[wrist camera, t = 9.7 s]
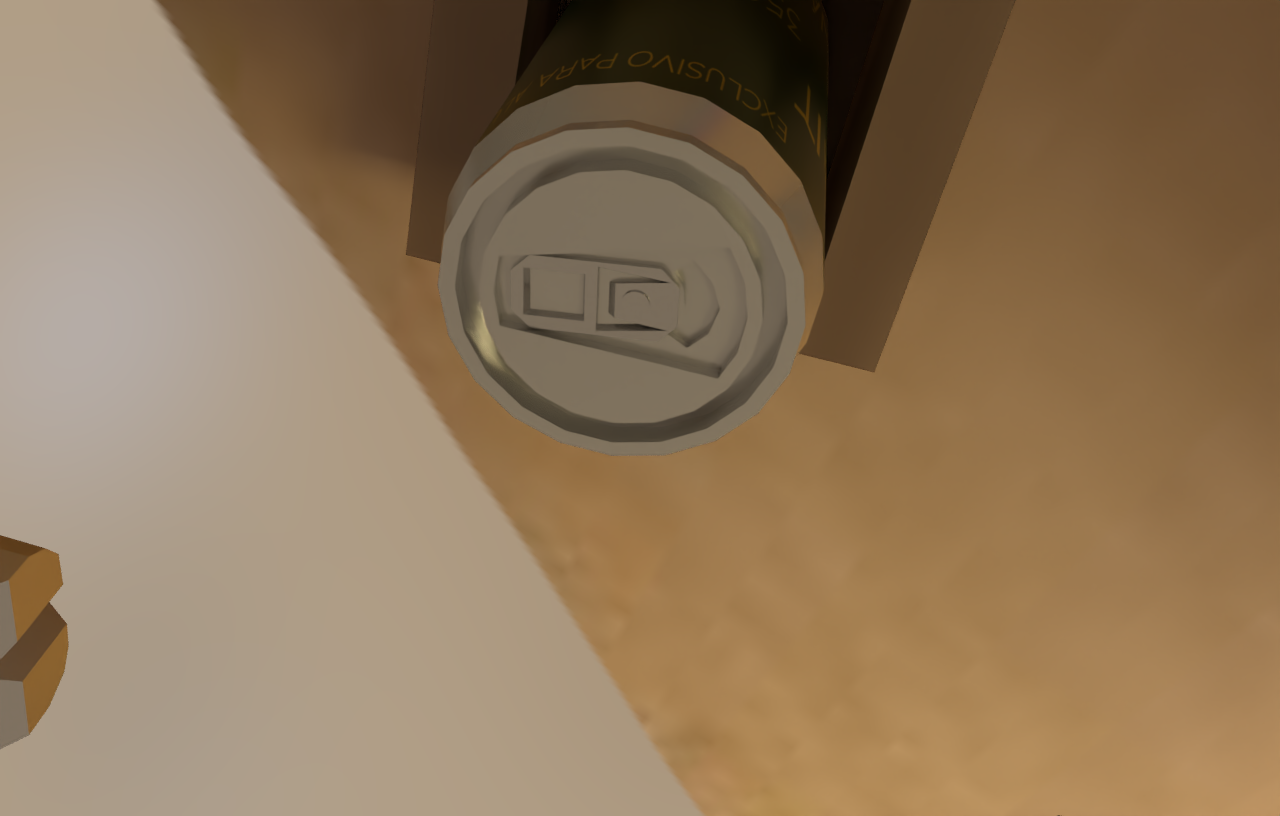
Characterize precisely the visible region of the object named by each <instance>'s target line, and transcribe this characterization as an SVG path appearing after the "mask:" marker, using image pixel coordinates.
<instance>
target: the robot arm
mask: <svg viewBox="0 0 1280 816" xmlns="http://www.w3.org/2000/svg"><path fill="white" fill-rule="evenodd" d="M62 585H63V581H62V574H61V568H60V561H59V555H58V554H57V553H54V552H52V551H50V550H48V549H45V548H42V547H39V546H35V545H31V544H28V543H25V542H21V541H18V540H15V539H11V538H8V537H4V536H1V535H0V749H1V748H3V747H5V746H7V745H9V744H12V743H14V742H16V741H18V740H20V739H22V738H24V737H26V736H28V735H29V734H30V733H31V731H32V730H33V729H34V727H35V726H36V724H37V723H38V722H39V720H40V719H41V717H42V716H43V714H44V713H45V712H46V710H47V709H48V707H49V706H50V704H51V701H52V699H53V697H54V694H55V692H56V690H57V687H58V685H59V683H60V680H61V678H62V676H63V673H64V669H65V664H66V658H67V651H68V634H67V633H68V632H67V623H66V622H65V621H64V620H63V618H61V616H60V615H59V614H58V612H57V611H56V610H55V609H54V607H53V606H52V605H51V604H50V602H49V601H50V600H51V599H52V598H53V596H54V595H55V594H56V593H57V591H58V590H59V589H60V587H61V586H62ZM1058 816H1060V815H1058Z"/></svg>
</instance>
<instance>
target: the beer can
mask: <svg viewBox="0 0 1280 816" xmlns="http://www.w3.org/2000/svg"><path fill="white" fill-rule="evenodd" d="M828 62H829V59H828V19H827V16H826V13H825V10H824V7H823V5H822V2H821V0H572V1H571V2H570V4H569V5H568V7H567V8H566V10H565V11H564V13H563V14H562V16H561V17H560V19H559V20H558V22H557V23H556V25H555V26H554V28H553V29H552V31H551V32H550V34H549V35H548V37H547V38H546V40H545V41H544V43H543V44H542V46H541V47H540V49H539V50H538V52H537V53H536V55H535V56H534V58H533V59H532V61H531V62H530V64H529V65H528V67H527V68H526V70H525V71H524V73H523V74H522V76H521V77H520V79H519V80H518V82H517V84H516V85H515V87H514V88H513V90H512V91H511V93H510V94H509V96H508V97H507V99H506V100H505V102H504V103H503V105H502V106H501V108H500V109H499V111H498V112H497V114H496V115H495V117H494V118H493V120H492V121H491V123H490V124H489V126H488V127H487V129H486V130H485V132H484V133H483V135H482V136H481V138H480V139H479V141H478V142H477V144H476V145H475V147H474V148H473V150H472V152H471V154H470V156H469V158H468V160H467V162H466V164H465V166H464V167H463V169H462V171H461V173H460V175H459V177H458V179H457V181H456V183H455V184H454V186H453V188H452V190H451V192H450V194H449V196H448V201H447V208H446V216H445V224H444V231H443V239H442V247H441V253H442V256H441V264H440V272H439V279H438V289H439V294H440V298H441V303H442V307H443V312H444V317H445V321H446V326H447V331H448V335H449V337H450V339H451V340H452V342H453V344H454V346H455V347H456V349H457V351H458V352H459V354H460V356H461V358H462V359H463V361H464V363H465V365H466V366H467V368H468V370H469V371H470V373H471V375H472V377H473V378H474V380H475V381H476V382H477V383H478V384H479V385H480V386H481V387H482V388H483V389H484V390H485V391H486V392H487V393H488V394H490V395H491V396H492V397H493V398H494V399H495V400H496V401H497V402H498V403H499V404H500V405H501V406H502V407H503V408H504V409H505V410H506V411H507V412H508V413H509V414H510V415H512V416H513V417H514V418H516V419H518V420H520V421H521V422H523V423H525V424H527V425H529V426H531V427H532V428H534V429H536V430H538V431H540V432H542V433H543V434H545V435H547V436H549V437H551V438H553V439H554V440H556V441H558V442H560V443H564V444H568V445H572V446H575V447H579V448H583V449H587V450H591V451H595V452H599V453H603V454H607V455H611V456H640V455H668V454H671V453H675V452H678V451H682V450H685V449H689V448H692V447H696V446H699V445H703V444H706V443H710V442H713V441H716V440H718V439H719V438H721V437H722V436H724V435H725V434H727V433H728V432H730V431H731V430H733V429H735V428H736V427H738V426H739V425H741V424H742V423H744V422H745V421H747V420H749V419H750V418H752V417H753V416H755V415H756V414H758V413H759V411H760V410H761V409H762V408H763V406H764V405H765V404H766V403H767V401H768V400H769V399H770V398H771V396H772V395H773V394H774V393H775V391H776V390H777V389H778V388H779V386H780V385H781V384H782V383H783V381H784V380H785V379H786V378H787V376H788V375H789V374H790V371H791V368H792V365H793V362H794V359H795V357H796V356H797V354H798V353H799V352H800V351H801V349H802V348H803V347H804V345H805V344H806V343H807V340H808V337H809V334H810V331H811V328H812V325H813V323H814V320H815V317H816V314H817V311H818V308H819V305H820V302H821V299H822V296H823V293H824V262H825V212H826V162H827V112H828Z"/></svg>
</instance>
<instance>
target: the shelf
mask: <svg viewBox="0 0 1280 816" xmlns="http://www.w3.org/2000/svg"><path fill="white" fill-rule="evenodd" d="M1014 3H1015V0H884V3H883V6H882V9H881V12H880V15H879V19H878V22H877V25H876V28H875V31H874V34H873V37H872V40H871V44H870V47H869V50H868V53H867V56H866V59H865V62H864V66H863V69H862V72H861V75H860V78H859V81H858V84H857V88H856V91H855V94H854V97H853V100H852V103H851V106H850V109H849V113H848V116H847V119H846V122H845V125H844V128H843V131H842V135H841V138H840V141H839V144H838V147H837V150H836V153H835V157H834V160H833V163H832V166H831V169H830V172H829V175H828V178H827V182H826V212H825V262H824V293H823V296H822V299H821V302H820V305H819V308H818V311H817V314H816V317H815V320H814V323H813V325H812V328H811V331H810V334H809V337H808V340H807V343H806V344H805V345H804V347H803V348H802V349H801V351H800V352H799V354H803V355H807V356H811V357H815V358H819V359H823V360H827V361H831V362H835V363H839V364H843V365H847V366H851V367H855V368H859V369H863V370H867V371H871V372H875V369H876V366H877V364H878V361H879V358H880V356H881V353H882V351H883V348H884V345H885V343H886V340H887V337H888V335H889V332H890V329H891V327H892V324H893V322H894V319H895V316H896V314H897V311H898V308H899V306H900V303H901V300H902V298H903V295H904V293H905V290H906V287H907V285H908V282H909V279H910V277H911V274H912V271H913V269H914V266H915V264H916V261H917V258H918V256H919V253H920V250H921V248H922V245H923V242H924V240H925V237H926V235H927V232H928V229H929V227H930V224H931V221H932V219H933V216H934V213H935V211H936V208H937V206H938V203H939V200H940V198H941V195H942V192H943V190H944V187H945V184H946V182H947V179H948V177H949V174H950V171H951V169H952V166H953V163H954V161H955V158H956V156H957V153H958V150H959V148H960V145H961V142H962V140H963V137H964V134H965V132H966V129H967V127H968V124H969V121H970V119H971V116H972V113H973V111H974V108H975V105H976V103H977V100H978V98H979V95H980V92H981V90H982V87H983V84H984V82H985V79H986V76H987V74H988V71H989V69H990V66H991V63H992V61H993V58H994V55H995V53H996V50H997V47H998V45H999V42H1000V40H1001V37H1002V34H1003V32H1004V29H1005V26H1006V24H1007V21H1008V18H1009V16H1010V13H1011V11H1012V8H1013V5H1014ZM558 6H559V0H434V6H433V15H432V24H431V33H430V42H429V51H428V60H427V70H426V79H425V88H424V97H423V106H422V115H421V124H420V133H419V142H418V151H417V160H416V169H415V178H414V187H413V196H412V205H411V214H410V223H409V232H408V241H407V250H406V255H409V256H413V257H417V258H421V259H425V260H429V261H433V262H437V263H441V256H442V253H441V247H442V239H443V231H444V224H445V216H446V208H447V201H448V196H449V194H450V192H451V190H452V188H453V186H454V184H455V183H456V181H457V179H458V177H459V175H460V173H461V171H462V169H463V167H464V166H465V164H466V162H467V160H468V158H469V156H470V154H471V152H472V150H473V148H474V147H475V145H476V144H477V142H478V141H479V139H480V138H481V136H482V135H483V133H484V132H485V130H486V129H487V127H488V126H489V124H490V123H491V121H492V120H493V118H494V117H495V115H496V114H497V112H498V111H499V109H500V108H501V106H502V105H503V103H504V102H505V100H506V99H507V97H508V96H509V94H510V93H511V91H512V90H513V88H514V87H515V85H516V84H517V82H518V80H519V79H520V77H521V76H522V74H523V73H524V71H525V70H526V68H527V67H528V65H529V64H530V62H531V61H532V59H533V58H534V56H535V55H536V53H537V52H538V50H539V49H540V47H541V46H542V44H543V43H544V41H545V40H546V38H547V37H548V35H549V34H550V32H551V31H552V29H553V28H554V26H555V24H556V18H557V12H558Z"/></svg>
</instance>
